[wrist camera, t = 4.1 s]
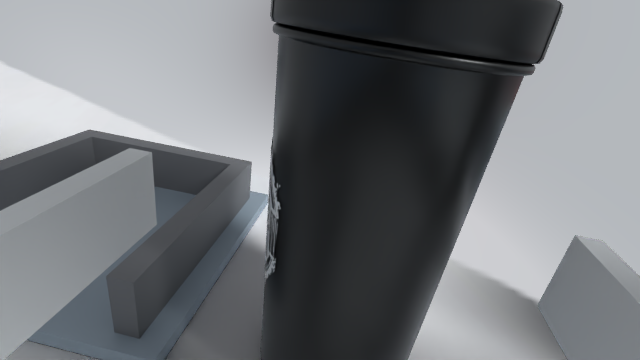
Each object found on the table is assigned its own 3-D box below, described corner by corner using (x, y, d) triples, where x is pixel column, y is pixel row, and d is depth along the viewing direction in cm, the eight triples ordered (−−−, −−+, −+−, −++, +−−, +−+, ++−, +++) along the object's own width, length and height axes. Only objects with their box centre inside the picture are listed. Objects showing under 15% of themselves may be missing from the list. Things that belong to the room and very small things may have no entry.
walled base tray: (267, 203, 37) (271, 159, 35) (155, 373, 19) (149, 303, 16) (93, 166, 38) (87, 123, 36) (-163, 290, 20) (-205, 217, 18)
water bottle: (278, 277, 27) (320, -89, 17) (411, 313, 25) (540, -65, 16) (213, 405, 18) (224, -226, 8) (416, 473, 16) (732, -198, 6)
